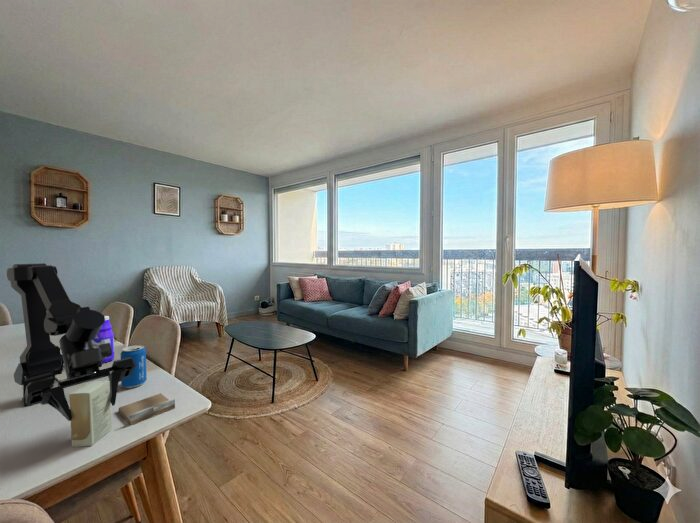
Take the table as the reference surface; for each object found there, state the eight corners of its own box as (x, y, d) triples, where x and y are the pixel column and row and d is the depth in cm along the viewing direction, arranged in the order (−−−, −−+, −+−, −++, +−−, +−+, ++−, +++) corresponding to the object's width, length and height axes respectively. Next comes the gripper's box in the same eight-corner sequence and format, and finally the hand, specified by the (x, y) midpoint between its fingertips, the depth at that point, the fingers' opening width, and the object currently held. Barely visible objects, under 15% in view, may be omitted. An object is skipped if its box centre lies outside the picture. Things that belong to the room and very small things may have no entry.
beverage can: (133, 390, 89) (132, 352, 88) (116, 388, 90) (115, 350, 89) (151, 381, 95) (150, 345, 95) (135, 379, 96) (134, 343, 96)
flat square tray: (131, 425, 71) (130, 416, 71) (118, 411, 77) (118, 402, 77) (175, 408, 79) (175, 399, 79) (160, 396, 85) (160, 388, 85)
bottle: (89, 362, 111) (87, 317, 110) (106, 357, 116) (105, 314, 115) (100, 365, 108) (99, 319, 107) (117, 359, 113) (116, 316, 112)
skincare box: (93, 429, 69) (91, 379, 69) (112, 428, 69) (111, 379, 69) (69, 448, 63) (67, 393, 62) (90, 447, 63) (89, 392, 63)
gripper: (24, 345, 60) (36, 415, 54) (132, 326, 75) (150, 379, 69) (20, 372, 65) (30, 439, 59) (122, 349, 80) (138, 401, 74)
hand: (93, 412), depth 65 cm, fingers closed on skincare box, 7 cm apart
